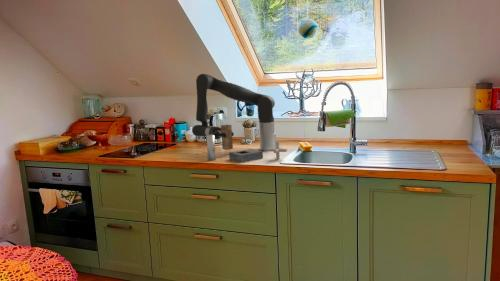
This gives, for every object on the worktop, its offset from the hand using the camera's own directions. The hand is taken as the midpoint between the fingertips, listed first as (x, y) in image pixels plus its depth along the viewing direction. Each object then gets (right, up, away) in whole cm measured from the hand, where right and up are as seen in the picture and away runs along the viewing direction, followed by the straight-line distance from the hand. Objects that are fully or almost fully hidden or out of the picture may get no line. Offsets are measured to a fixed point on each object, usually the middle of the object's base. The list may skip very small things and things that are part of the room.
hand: (229, 134), depth 220 cm
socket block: (+10, -14, -7) cm, 18 cm away
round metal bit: (-9, -14, -7) cm, 18 cm away
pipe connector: (+27, -14, -11) cm, 32 cm away
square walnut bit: (-1, -8, +3) cm, 9 cm away
